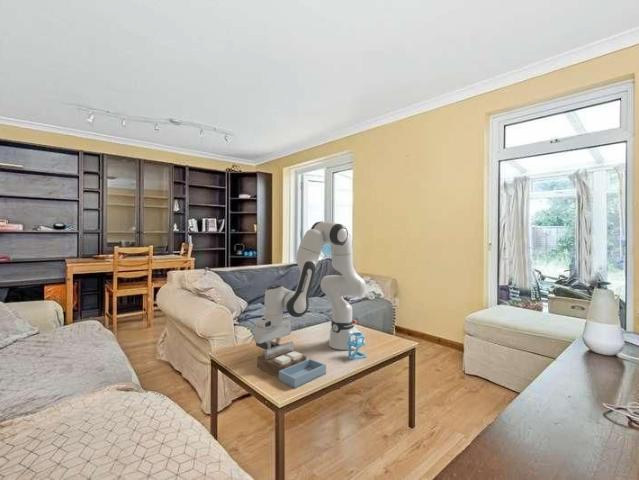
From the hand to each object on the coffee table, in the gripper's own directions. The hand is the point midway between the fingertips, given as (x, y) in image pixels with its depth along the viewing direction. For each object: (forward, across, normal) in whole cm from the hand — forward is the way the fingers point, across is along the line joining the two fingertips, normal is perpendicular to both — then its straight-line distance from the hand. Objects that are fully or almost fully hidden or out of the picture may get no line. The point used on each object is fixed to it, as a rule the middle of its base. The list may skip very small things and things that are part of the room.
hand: (273, 347), depth 153 cm
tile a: (+2, -3, +11) cm, 12 cm away
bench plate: (+7, 0, +7) cm, 10 cm away
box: (+7, 0, +21) cm, 22 cm away
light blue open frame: (+8, -35, +23) cm, 43 cm away
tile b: (+2, +4, +11) cm, 12 cm away
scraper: (+2, 0, -4) cm, 4 cm away
